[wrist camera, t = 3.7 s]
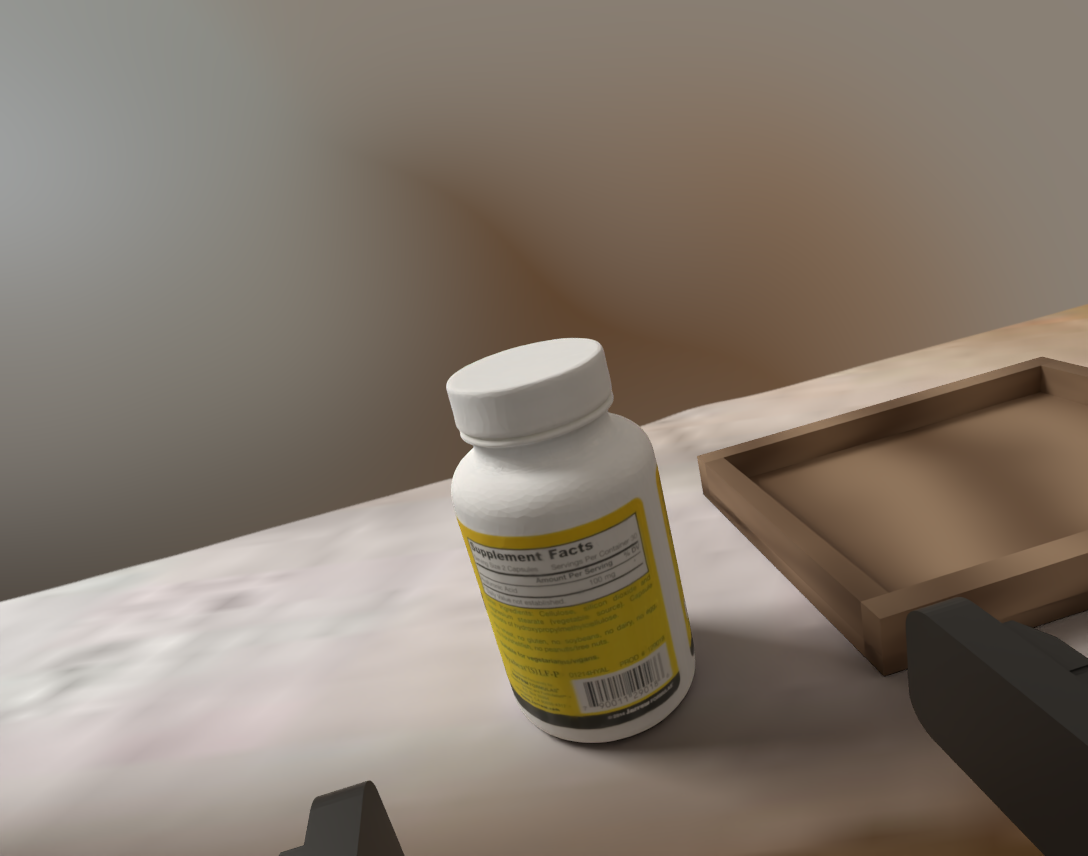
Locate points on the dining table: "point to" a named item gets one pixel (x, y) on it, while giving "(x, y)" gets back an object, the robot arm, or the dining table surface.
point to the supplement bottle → (570, 542)
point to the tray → (925, 504)
